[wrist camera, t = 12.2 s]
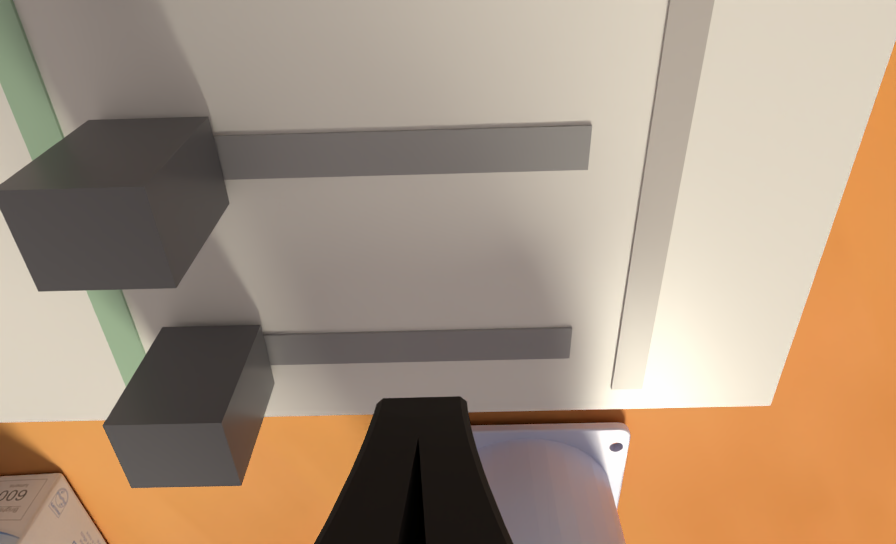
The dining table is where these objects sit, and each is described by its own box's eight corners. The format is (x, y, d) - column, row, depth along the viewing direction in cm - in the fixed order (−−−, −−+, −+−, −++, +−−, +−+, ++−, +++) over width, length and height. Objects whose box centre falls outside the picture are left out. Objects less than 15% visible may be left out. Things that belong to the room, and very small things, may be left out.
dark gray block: (229, 203, 17) (176, 288, 14) (118, 206, 17) (38, 291, 14) (208, 116, 16) (143, 186, 12) (88, 119, 16) (-9, 190, 12)
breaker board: (747, 366, 23) (771, 407, 21) (-11, 383, 24) (-47, 425, 22) (960, -344, 13) (1042, -376, 11) (-395, -292, 13) (-525, -315, 12)
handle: (274, 383, 21) (241, 485, 17) (182, 385, 21) (131, 487, 17) (260, 324, 19) (221, 422, 16) (162, 326, 19) (102, 425, 16)
